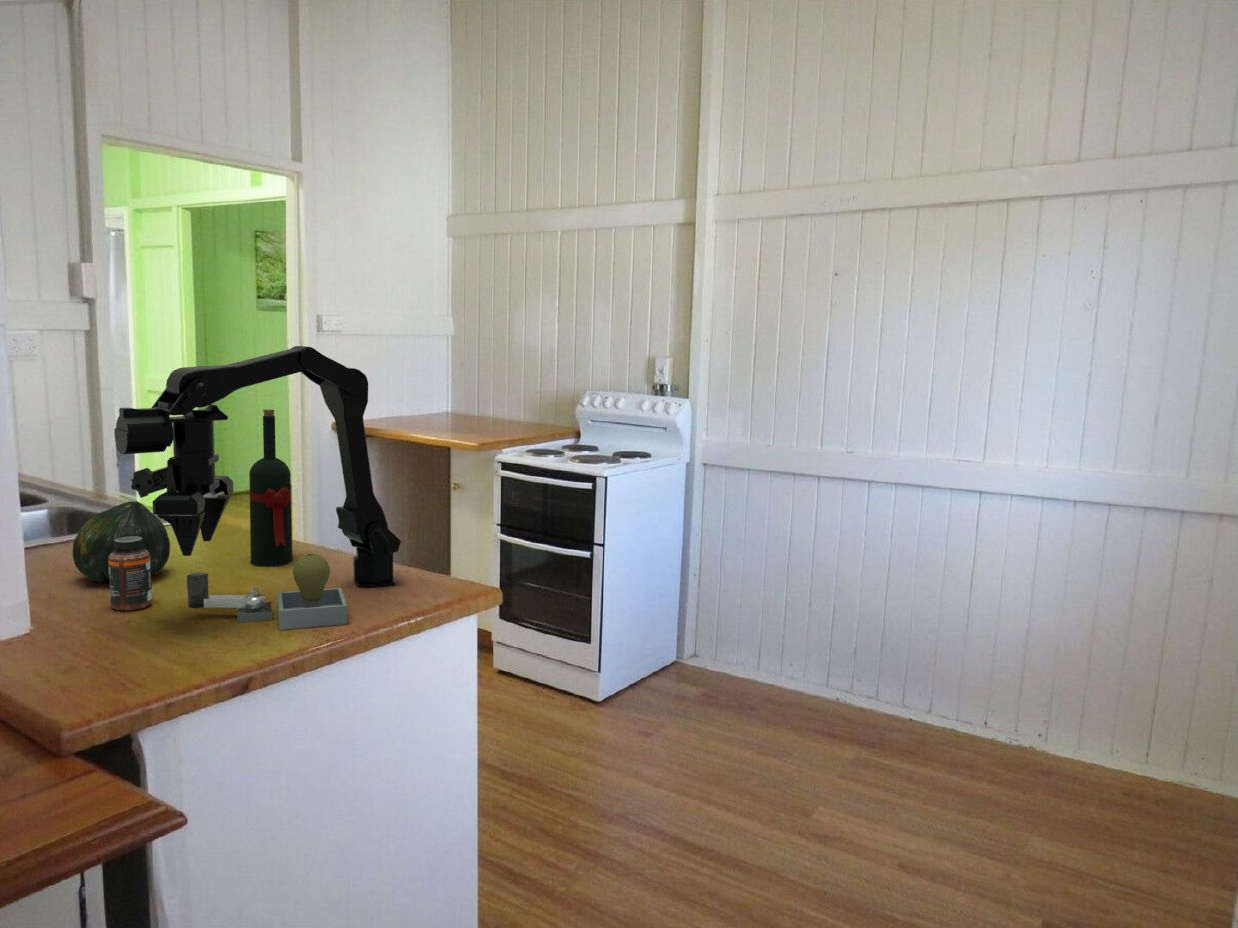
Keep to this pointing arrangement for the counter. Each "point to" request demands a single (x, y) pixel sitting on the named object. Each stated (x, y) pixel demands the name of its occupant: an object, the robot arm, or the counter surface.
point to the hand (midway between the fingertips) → (197, 548)
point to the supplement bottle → (130, 575)
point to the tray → (311, 610)
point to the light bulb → (311, 578)
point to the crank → (202, 599)
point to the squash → (117, 523)
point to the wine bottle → (270, 504)
